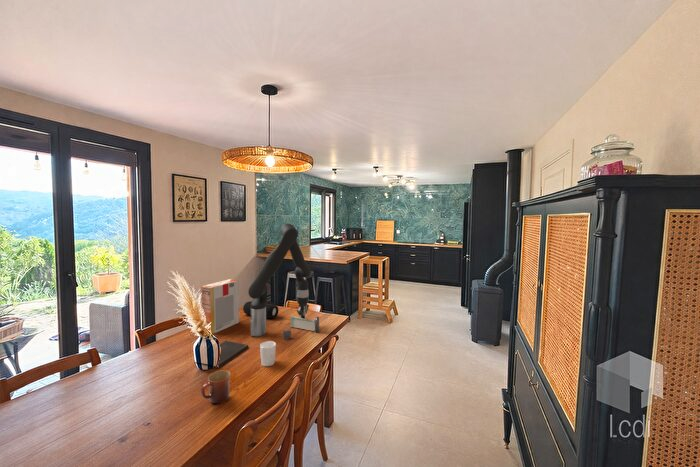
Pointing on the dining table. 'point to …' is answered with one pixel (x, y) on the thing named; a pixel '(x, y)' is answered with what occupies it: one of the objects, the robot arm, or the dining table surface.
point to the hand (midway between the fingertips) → (303, 320)
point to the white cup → (267, 353)
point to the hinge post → (317, 325)
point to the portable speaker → (270, 309)
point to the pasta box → (221, 304)
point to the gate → (303, 323)
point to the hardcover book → (230, 351)
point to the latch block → (287, 334)
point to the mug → (217, 386)
